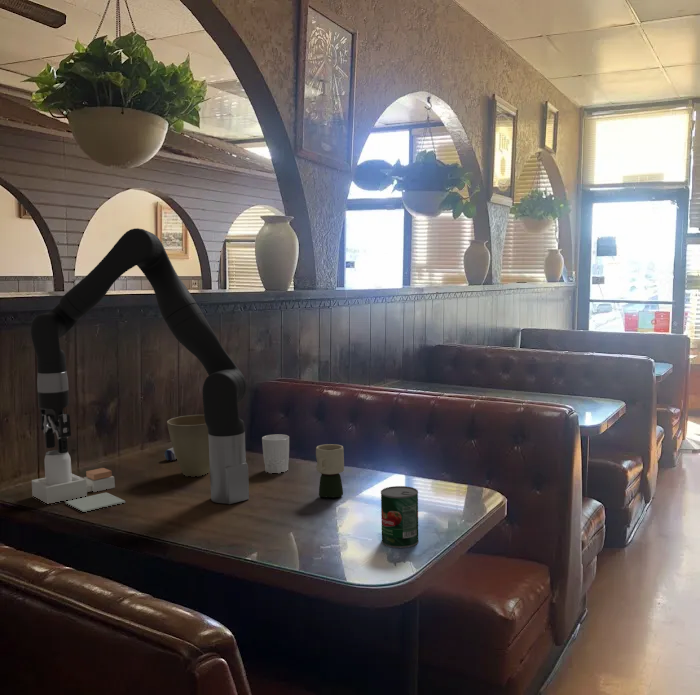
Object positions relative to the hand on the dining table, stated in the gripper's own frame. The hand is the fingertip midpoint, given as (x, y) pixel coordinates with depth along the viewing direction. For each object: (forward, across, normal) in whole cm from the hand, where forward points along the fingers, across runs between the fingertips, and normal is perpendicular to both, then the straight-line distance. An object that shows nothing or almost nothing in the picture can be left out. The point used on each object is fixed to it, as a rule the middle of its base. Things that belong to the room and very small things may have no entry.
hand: (56, 450), depth 198 cm
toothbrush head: (+13, +15, -52) cm, 55 cm away
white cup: (+12, -22, -55) cm, 61 cm away
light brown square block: (+12, 0, -11) cm, 17 cm away
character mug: (+12, -53, -49) cm, 73 cm away
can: (+13, 0, 0) cm, 13 cm away
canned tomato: (+12, -88, -38) cm, 97 cm away
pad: (+12, -13, -4) cm, 19 cm away
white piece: (+12, 0, -5) cm, 14 cm away
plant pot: (+12, -7, -37) cm, 40 cm away
